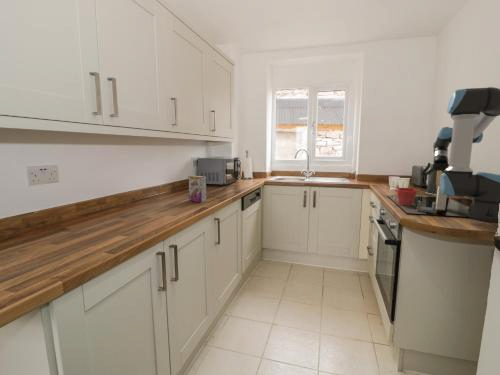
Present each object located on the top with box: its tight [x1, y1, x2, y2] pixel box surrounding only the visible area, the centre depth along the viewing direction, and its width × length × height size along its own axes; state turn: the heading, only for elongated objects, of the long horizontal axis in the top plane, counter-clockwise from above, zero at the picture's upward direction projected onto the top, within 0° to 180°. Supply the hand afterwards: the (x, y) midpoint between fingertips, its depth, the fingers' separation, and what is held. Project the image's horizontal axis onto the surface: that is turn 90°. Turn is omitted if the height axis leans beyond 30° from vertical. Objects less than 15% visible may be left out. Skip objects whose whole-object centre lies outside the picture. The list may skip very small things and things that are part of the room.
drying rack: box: [415, 200, 437, 214], centre depth 151 cm, size 9×8×5 cm
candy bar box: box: [188, 174, 207, 204], centre depth 173 cm, size 11×5×16 cm, turn 58°
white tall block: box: [435, 185, 448, 211], centre depth 156 cm, size 4×6×13 cm, turn 151°
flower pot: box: [396, 187, 418, 207], centre depth 168 cm, size 11×11×10 cm
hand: (440, 185), depth 162 cm, fingers open, 13 cm apart
